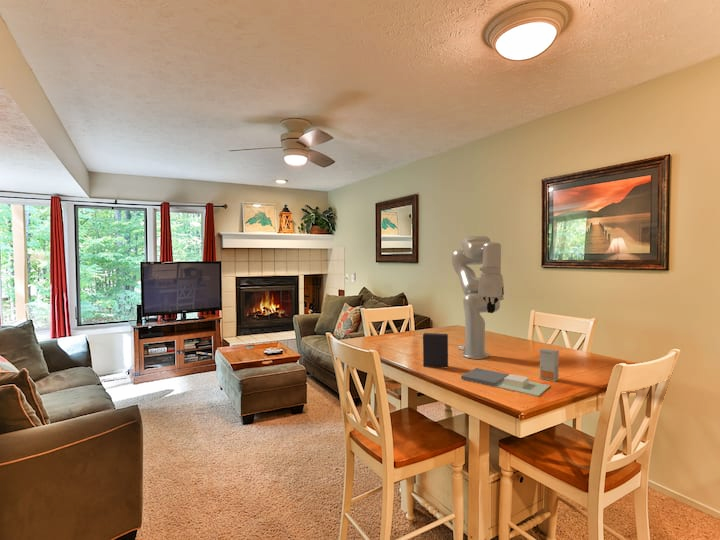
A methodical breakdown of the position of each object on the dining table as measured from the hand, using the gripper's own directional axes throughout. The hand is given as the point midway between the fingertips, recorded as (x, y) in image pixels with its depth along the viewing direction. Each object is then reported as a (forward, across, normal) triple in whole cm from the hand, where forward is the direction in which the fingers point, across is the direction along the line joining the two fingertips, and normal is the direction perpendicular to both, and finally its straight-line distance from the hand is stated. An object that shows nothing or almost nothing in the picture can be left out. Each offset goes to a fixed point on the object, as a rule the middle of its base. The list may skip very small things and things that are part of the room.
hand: (490, 312), depth 169 cm
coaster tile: (+24, +17, -14) cm, 32 cm away
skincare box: (+25, +24, +2) cm, 35 cm away
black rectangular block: (+26, -21, -11) cm, 35 cm away
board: (+25, +4, -14) cm, 29 cm away
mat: (+24, +19, -14) cm, 34 cm away
